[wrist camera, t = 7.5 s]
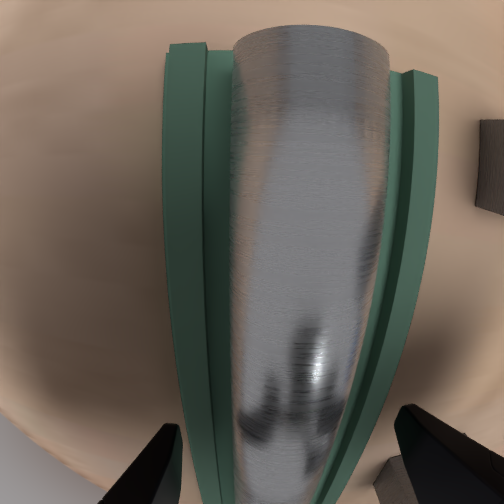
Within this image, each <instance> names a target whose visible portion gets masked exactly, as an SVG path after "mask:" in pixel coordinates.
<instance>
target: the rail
mask: <svg viewBox="0 0 504 504" xmlns="http://www.w3.org/2000/svg"><path fill="white" fill-rule="evenodd" d="M390 122H391V95H390V64H389V54H388V52H387V50H386V49H385V48H384V47H383V46H381V45H380V44H379V43H377V42H376V41H374V40H372V39H370V38H368V37H366V36H363V35H361V34H358V33H355V32H352V31H348V30H344V29H339V28H334V27H327V26H318V25H288V26H278V27H273V28H267V29H263V30H260V31H256V32H254V33H251V34H248V35H246V36H245V37H243V38H241V39H240V40H238V41H237V42H236V44H235V45H234V47H233V71H232V103H231V146H230V228H229V286H230V368H231V410H232V442H233V469H234V492H235V504H310V502H311V500H312V498H313V496H314V493H315V491H316V488H317V486H318V484H319V481H320V479H321V476H322V474H323V471H324V468H325V466H326V463H327V461H328V458H329V455H330V452H331V450H332V447H333V444H334V441H335V438H336V435H337V432H338V429H339V426H340V423H341V420H342V417H343V414H344V411H345V407H346V404H347V401H348V397H349V394H350V391H351V387H352V384H353V380H354V376H355V373H356V369H357V365H358V361H359V357H360V353H361V349H362V345H363V340H364V336H365V332H366V327H367V322H368V318H369V313H370V308H371V303H372V298H373V292H374V287H375V281H376V275H377V269H378V263H379V256H380V249H381V242H382V234H383V226H384V217H385V208H386V197H387V185H388V172H389V154H390Z"/></svg>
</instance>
